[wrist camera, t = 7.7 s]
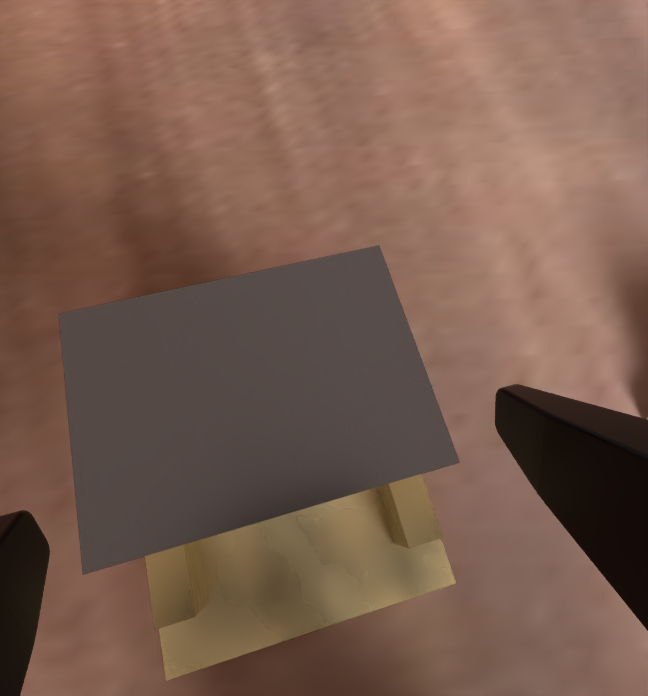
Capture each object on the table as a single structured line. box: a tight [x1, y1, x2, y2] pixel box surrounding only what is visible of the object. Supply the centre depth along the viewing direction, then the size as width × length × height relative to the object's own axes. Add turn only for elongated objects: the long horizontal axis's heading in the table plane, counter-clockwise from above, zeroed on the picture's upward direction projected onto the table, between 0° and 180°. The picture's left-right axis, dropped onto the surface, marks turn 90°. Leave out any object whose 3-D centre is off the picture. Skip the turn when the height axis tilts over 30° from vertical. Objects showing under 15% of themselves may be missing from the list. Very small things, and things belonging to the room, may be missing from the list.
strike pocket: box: [145, 474, 456, 681], centre depth 17 cm, size 12×11×3 cm
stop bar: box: [59, 245, 460, 575], centre depth 12 cm, size 4×5×12 cm
